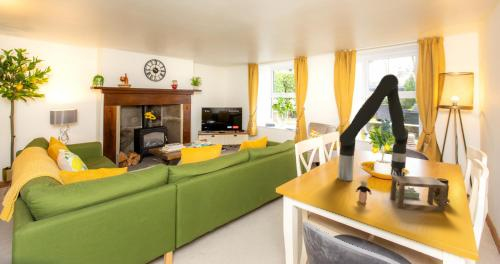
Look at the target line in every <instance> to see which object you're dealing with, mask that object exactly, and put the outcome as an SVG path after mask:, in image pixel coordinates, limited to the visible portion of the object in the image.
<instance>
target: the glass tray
mask: <svg viewBox="0 0 500 264" xmlns="http://www.w3.org/2000/svg"><path fill="white" fill-rule="evenodd" d="M398 195H399V186H397V185H396V196H395V198H398ZM404 198H407V199H408V198H409V199H410V198H411V199H420V192H419V191H417V190H416V189H415V187H413V186H407V188H405V190H404Z"/></svg>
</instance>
